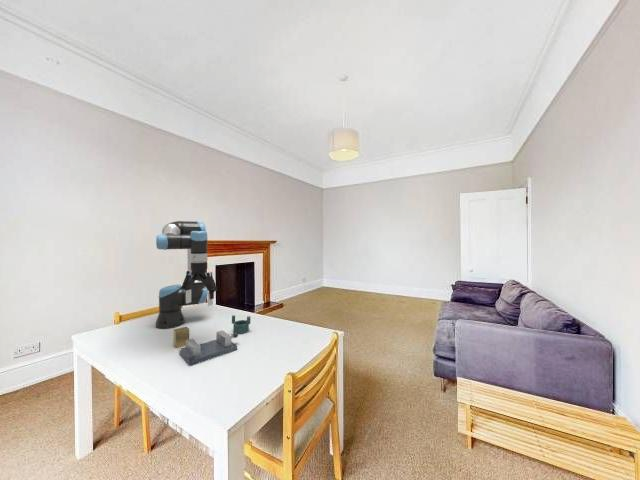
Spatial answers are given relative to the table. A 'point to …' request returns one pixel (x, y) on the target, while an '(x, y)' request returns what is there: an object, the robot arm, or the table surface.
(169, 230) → the robot arm
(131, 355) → the table surface
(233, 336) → the free jaw
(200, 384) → the table surface
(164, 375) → the table surface
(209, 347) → the vise
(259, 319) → the table surface
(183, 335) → the brass block
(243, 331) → the bracket
